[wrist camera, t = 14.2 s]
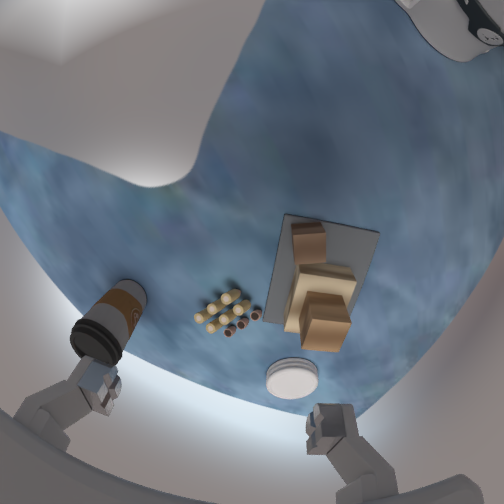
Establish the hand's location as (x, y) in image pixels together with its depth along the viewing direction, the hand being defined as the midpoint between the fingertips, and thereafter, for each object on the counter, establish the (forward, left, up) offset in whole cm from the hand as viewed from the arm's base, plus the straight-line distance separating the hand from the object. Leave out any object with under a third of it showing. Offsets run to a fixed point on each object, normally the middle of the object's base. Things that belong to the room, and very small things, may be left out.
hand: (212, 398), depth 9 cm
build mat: (+10, +11, -29) cm, 33 cm away
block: (+3, +7, -28) cm, 30 cm away
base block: (+12, +11, -28) cm, 33 cm away
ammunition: (+17, -1, -30) cm, 34 cm away
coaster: (+32, +12, -30) cm, 45 cm away
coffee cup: (+19, -19, -29) cm, 40 cm away
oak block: (+12, +11, -24) cm, 29 cm away
